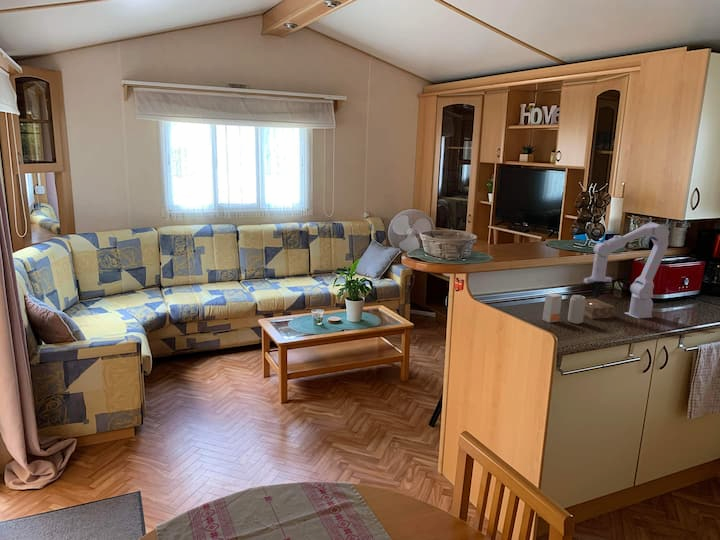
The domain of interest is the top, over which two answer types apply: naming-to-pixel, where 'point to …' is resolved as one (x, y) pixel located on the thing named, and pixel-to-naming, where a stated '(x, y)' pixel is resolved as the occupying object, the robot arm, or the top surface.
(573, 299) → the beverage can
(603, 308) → the band block
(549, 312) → the skincare box
